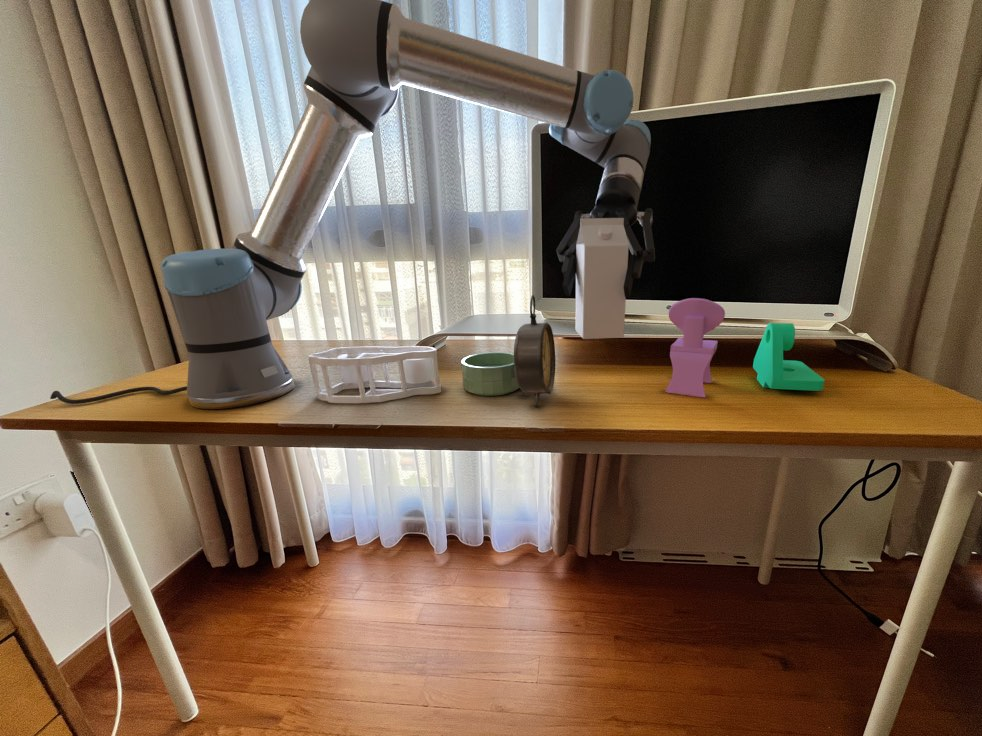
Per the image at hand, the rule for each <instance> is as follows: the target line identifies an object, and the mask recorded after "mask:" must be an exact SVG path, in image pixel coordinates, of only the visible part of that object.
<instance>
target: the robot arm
mask: <svg viewBox="0 0 982 736" xmlns="http://www.w3.org/2000/svg"><path fill="white" fill-rule="evenodd" d="M301 15H302V16H301V19H300V25H299V27H300V30H299V34H300V42H301V44H302V48H303V51H304V54H305V57H306V59H307V62H308V63H309V65H310V68H309V71H308V73H307V74H306V77H305V80H304V82H303V85H302V87H303V90H304V93H305V95H306V98H307V105H306V106H305V109H304V112H303V113H302V117H301V118H300V120H299V123H298V125H297V127H296V129H295V132H294V133H293V136H292V138H291V140H290V143H289V145H288V147H287V150H286V152H285V154H284V156H283V158H282V160H281V163H280V166H279V167H278V170H277V172H276V175H275V177H274V179H273V181H272V184H271V186H270V187H269V190H268V192H267V195H266V197H265V200H264V202H263V204H262V206H261V208H260V210H259V213H258V214H257V217H256V220H255V222H254V224H253V226H252V228H251V230H249V231H247V232H241V233H238V234H237V235H236V238H235V240H234V242H233V245H232V246H231V248H211V249H209V248H208V249H198V250H193V251H191V250H190V251H182V252H178V253H174V254H173V253H172V254H171V255H168V256H166V257H164V258H163V259H162V260H161V263H160V270H161V273H162V277H163V281H162V282H163V286H164V289H165V290H166V291H167V292H166V293H167V294H168V295H167V296H168V298H169V301H170V303H171V306H172V310H173V312H174V315H175V318H176V321H177V324H178V327H179V330H180V332H181V336H182V339H183V342H184V344H185V348H186V351H187V354H188V368H187V380H186V381H187V382H186V383H187V384H186V386H182V387H178V388H174V389H170V390H162V389H160V388H158V387H155V386H139V387H132V388H128V389H123V390H119V391H114V392H111V393H106V394H102V395H97V396H93V397H88V398H87V397H86V398H80V399H72V398H70V399H69V398H67V397H65V396H64V395H63V394H62V393H61V392H60V391H59V390H54V391H52V393H51V395H50V397H49V400H54V399H58V400H59V401H60V402H62V403H65V404H71V405H80V404H89V403H93V402H99V401H102V400H108V399H112V398H116V397H119V396H123V395H128V394H133V393H138V392H146V391H147V392H148V391H152V392H155V393H158V394H159V395H163V396H169V395H174V394H178V393H181V392H185V391H186V397H187V398H188V402H189V404H190V406H191V407H193V408H197V409H203V410H221V409H232V408H239V407H245V406H251V405H255V404H259V403H262V402H267V401H270V400H272V399H276V398H278V397H281V396H283V395H285V394H287V393H289V392H291V390H293V389H294V388H295V381H294V378H293V375H292V373H291V371H290V370H289V368H288V367H287V365H286V363H285V361H284V360H283V359H282V357H281V356H280V354H279V353H278V351H277V350H276V348H275V346H274V344H273V341H272V337H271V334H270V329H269V326H268V323H267V322H268V321H269V320H272V319H275V318H279V317H281V316H284V315H286V314H287V313H289V312H290V311H291V310H292V309H293V308H295V306H296V305H297V304H298V302H299V301H300V298H301V295H302V291H303V285H302V279H303V278H304V276H305V274H306V271H307V265H306V263H305V261H304V259H303V256H304V254H305V252H306V250H307V248H308V247H309V244H310V242H311V239H312V237H313V235H314V233H315V231H316V229H317V227H318V225H319V223H320V221H321V219H322V217H323V215H324V212H325V210H326V209H327V206H328V204H329V202H330V200H331V198H332V197H333V193H334V192H335V190H336V187H337V186H338V183H339V181H340V179H341V177H342V175H343V173H344V171H345V169H346V167H347V165H348V163H349V161H350V158H351V156H352V154H353V152H354V150H355V148H356V147H357V144H358V142H359V140H360V139H362V138H368V137H372V136H373V134H374V132H375V130H376V128H377V125H378V124H379V122H380V119H381V118H383V117H385V116H386V115H388V114H389V113H390V112H391V111H392V110H393V109H394V107H395V105H396V104H397V101H398V98H399V94H400V86H402V85H404V86H408V87H411V88H416V89H419V90H422V91H427V92H430V93H434V94H438V95H441V96H445V97H449V98H452V99H456V100H460V101H464V102H467V103H471V104H475V105H478V106H482V107H487V108H489V109H493V110H497V111H501V112H505V113H508V114H512V115H516V116H519V117H522V118H527V119H530V120H534V121H537V122H542V123H544V124H549V127H548V131H549V132H548V133H549V135H550V136H551V137H552V138H554V139H555V140H556V141H557V142H559V143H560V144H561V145H563V146H566V147H568V148H569V149H571V150H573V151H575V153H576V152H577V154H580V155H581V156H584V157H585V158H587V159H589V160H590V161H592V162H594V163H596V164H597V165H598V166H601V167H602V168H604V169H603V173H602V177H601V180H600V184H599V188H598V192H597V196H596V199H595V204H594V207H593V209H592V210H591V211H590V213H583V212H582V211H581V210H577V211H576V212H575V213H574V219H573V221H572V223H571V224H570V226H569V228H568V229H567V231H566V233H565V234H564V236H563V238H562V239H561V241H560V243H559V245H558V246H557V247H556V250H555V251H556V254H557V257H558V261H559V262H560V263H563V264H562V267H561V273H562V276H563V281H562V284H561V286H562V288H563V292H564V295H565V296H566V297H569V296H571V293H572V290H573V287H574V282H575V280H576V244H577V239H578V234H579V230H580V219H587V218H624V229H625V232H626V236H627V240H628V243H629V247H628V250H629V251H630V254H629V257H628V266H627V272H626V277H625V282H624V294H625V298H626V299H629V298H630V297H631V294H632V288H633V283H634V279H635V280H637V279H640V278H641V275H642V274H641V273H642V271H643V270H642V269H643V266H644V263H646V262H649V263H654V262H655V260H656V248H655V243H654V235H653V227H652V225H653V222H654V218H653V217H654V214H653V208H651V207H647V208H646V209H645V211H639V210H638V205H639V201H640V195H641V192H642V187H643V183H644V177H645V171H646V168H647V164H648V160H649V157H650V153H651V142H652V137H651V132H650V129H649V127H648V126H647V125H646V123H644V121H641V120H639V119H630V116H631V114H632V113H631V112H632V111H633V108H634V91H633V87H632V84H631V82H630V80H629V79H628V78H627V76H626V75H625V74H623V73H622V72H621V71H618V70H615V69H607V70H606V69H605V70H603V71H600V72H598V73H596V74H595V75H594V74H591V73H587V72H585V71H581V70H576V69H573V68H570V67H567V66H563V65H560V64H557V63H553V62H550V61H547V60H544V59H540V58H537V57H534V56H531V55H527V54H524V53H521V52H518V51H514V50H511V49H509V48H505V47H501V46H498V45H495V44H492V43H488V42H486V41H482V40H479V39H475V38H472V37H469V36H466V35H462V34H460V33H457V32H453V31H449V30H447V29H444V28H439V27H438V26H437V27H436V26H434V25H430V24H427V23H424V22H422V21H421V22H420V21H418V20H414V19H411V18H407V17H405V16H404V14H403V12H402V11H401V9H400V8H399V7H398V5H397V4H394V3H391V2H388V1H385V0H309V2H308V3H307V4H306V6H305V7H304V9H303V11H302V14H301ZM637 221H638V222H639V225H641V227H642V230H643V238H644V245H645V249H644V250H643V247H642V246H641V245H640V243H639V240H638V239H637V237H636V235H635V233H634V231H633V229H632V226H633V225H634V224H635V223H637ZM69 472H70V474H71V477H72V479H73V481H74V483H75V485H76V487H77V489H78V491H79V493H80V496H81V497H82V500H83V501H84V503H85V505H86V508H87V509H88V511H89V513H90V515H91V517H92V518H93V516H92V514H91V511H90V509H89V507H88V505H87V503H86V500H85V497H84V495H83V493H82V491H81V489H80V486H79V484H78V482H77V479H76V477H75V475H74V472H75V471H72V470H69Z"/></svg>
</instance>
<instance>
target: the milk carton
mask: <svg viewBox="0 0 982 736" xmlns="http://www.w3.org/2000/svg"><path fill="white" fill-rule="evenodd" d="M628 263H629V243H628V240H627V236H626V232H625V229H624V218H587V219H580V230H579V234H578V239H577V244H576V275H575V314H574V315H575V321H574V322H575V325H574V327H575V328H574V329H575V330H574V331H575V332H576V333H577V334H578V335H579V336H580V337H581V339H583V340H594V339H595V340H598V339H618V338H624V336H625V322H626V321H625V320H626V302H627V298H625V294H624V282H625V277H626V272H627V268H628Z"/></svg>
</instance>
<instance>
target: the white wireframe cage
mask: <svg viewBox="0 0 982 736" xmlns="http://www.w3.org/2000/svg"><path fill="white" fill-rule="evenodd" d="M335 356H337V357H335ZM308 363H309V369H310V372H311V373H310V374H311V377H312V382H313V385H314V391H315V394H316V398H317V399H318V400H319V401H326V402H327V403H329V404H369V403H384V402H387V401H392V400H400V399H404V398H408V397H411V396H412V397H413V396H417V395H418V396H419V395H436V394H439V393H441V392H442V385H441V383H440V381H441V380H440V372H439V365H438V351H437V348H435V347H432V346H425V345H410V346H409V345H405V346H379V345H378V346H377V345H374V346H373V345H363V346H362V345H360V346H349V347H348V346H343V347H342V346H341V347H333V348H330V349H328V350H324V351H320V352H316V353H312V354H311V353H310V354H308ZM388 363H390V364H391V363H397V366H398V367H397V368H398V373H399V378H400V379H399V380H400V381H398V380H397V381H396V380H395V381H394V380H391V379H390V378H391V377H390V372H389V365H388ZM317 365H319V366H320V367H321V371H322V377H323V380H324V385H325V388H324V389H322V388H321V384H320V379H319V375H318V370H317ZM377 365H381V366H382V370H383V377H384V380H375V378H376V377H377V376H376V369H375V366H377ZM328 367H338V370H339V374H340V380H341V382H339V383H337V384H335V385H333V386H332V383H331V379H330V374H329V368H328ZM365 388H369V390H368V391H367V392H366V389H365ZM379 388H380V389H379ZM385 388H386V389H385ZM347 389H348V390H351V389H358V391H359V395H336V394H338V393H339V392H341V391H343V390H347Z"/></svg>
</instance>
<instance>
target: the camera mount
mask: <svg viewBox="0 0 982 736" xmlns="http://www.w3.org/2000/svg"><path fill="white" fill-rule="evenodd" d="M795 338H796V328H795V324H794V323H791V322H768V323H767V325H766V326H765V330H764V333H763V335H762V338H761V340H760V343H759V345H758V348H757V350H756V353H755V356H754V357H753V364H752V368H753V370H754V371H755V372H756V373H757V375H756V380H757V381H758V383H759V384H760V385H761V387H763V388H764V389H770V390H771V389H772V390H790V391H791V390H793V391H812V392H813V391H816V392H821V391H823V389H824V386H825V381H826V380H825V378H823V377H822V376H821V375H819V374H818V373H817V372H815V371H814V369H812V368H810V367H809V366H808V365H807V364H805V363H804V362H803V361H800V360H799V361H798V360H788V359H787V360H786V359H784V351H790V350H792V348H793V346H794V344H795Z"/></svg>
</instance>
